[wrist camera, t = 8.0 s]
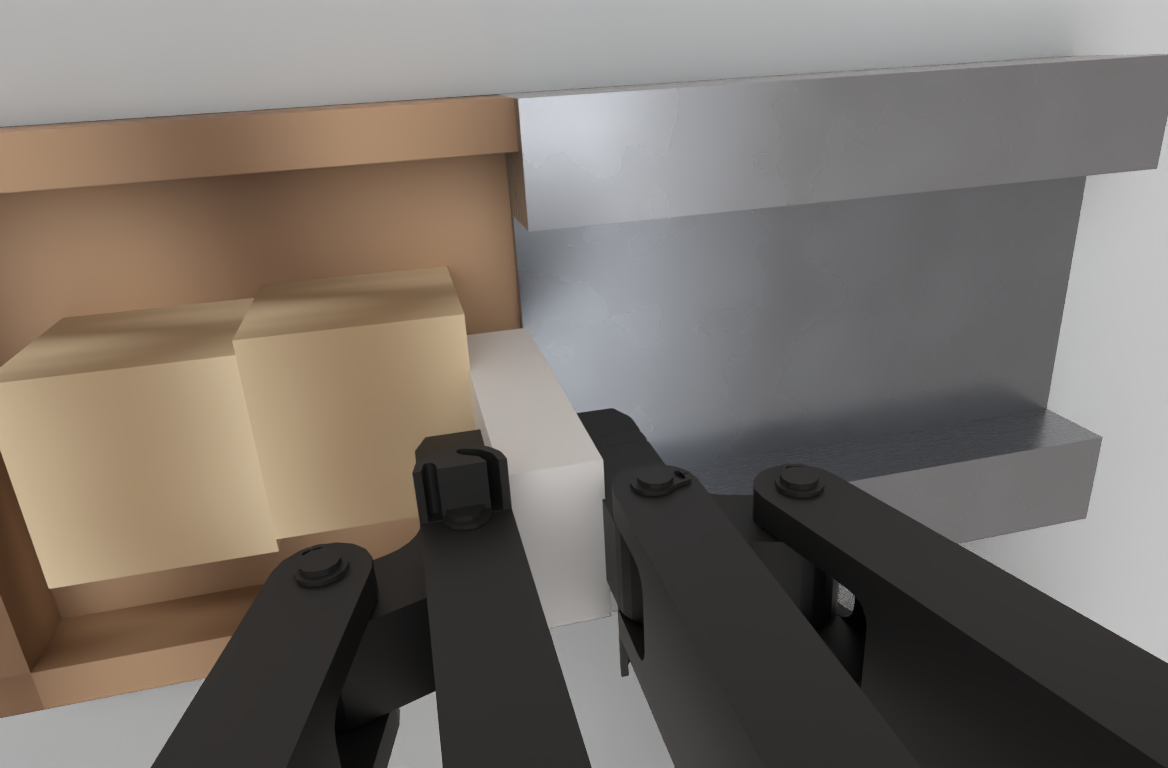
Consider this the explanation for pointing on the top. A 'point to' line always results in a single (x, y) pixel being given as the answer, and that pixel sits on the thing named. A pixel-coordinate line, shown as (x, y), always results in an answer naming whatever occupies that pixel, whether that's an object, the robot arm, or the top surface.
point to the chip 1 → (134, 444)
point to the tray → (211, 274)
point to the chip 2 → (351, 392)
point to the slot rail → (832, 270)
